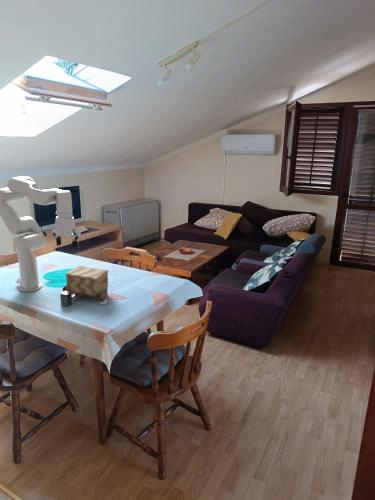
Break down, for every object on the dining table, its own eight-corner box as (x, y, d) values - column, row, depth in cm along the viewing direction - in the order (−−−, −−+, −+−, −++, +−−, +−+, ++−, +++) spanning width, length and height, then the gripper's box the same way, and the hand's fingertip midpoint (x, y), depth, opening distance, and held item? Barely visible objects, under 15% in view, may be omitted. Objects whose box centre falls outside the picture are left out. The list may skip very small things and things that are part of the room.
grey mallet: (61, 305, 191) (60, 293, 189) (75, 296, 203) (74, 284, 201) (67, 307, 190) (66, 294, 188) (81, 297, 202) (80, 285, 200)
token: (97, 304, 195) (96, 301, 195) (102, 300, 199) (102, 298, 199) (104, 306, 193) (104, 303, 193) (110, 302, 198) (109, 299, 197)
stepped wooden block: (67, 298, 200) (65, 273, 195) (80, 289, 212) (79, 266, 207) (96, 304, 195) (95, 278, 190) (108, 294, 207) (108, 270, 202)
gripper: (46, 214, 185) (48, 246, 190) (75, 217, 180) (76, 250, 186) (55, 211, 192) (57, 242, 197) (83, 215, 187) (85, 246, 192)
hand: (66, 246), depth 191 cm, fingers open, 9 cm apart
